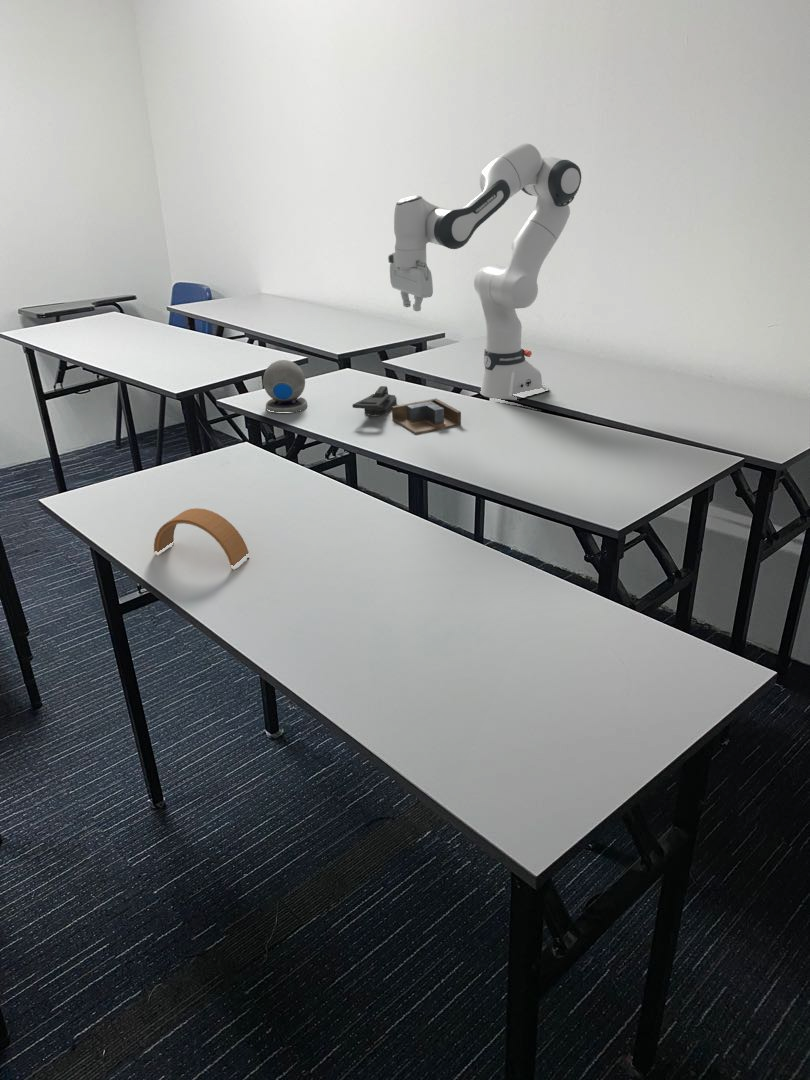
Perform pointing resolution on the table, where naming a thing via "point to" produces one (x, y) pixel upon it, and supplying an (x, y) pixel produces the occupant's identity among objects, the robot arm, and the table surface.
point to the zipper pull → (377, 402)
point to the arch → (210, 524)
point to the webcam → (284, 387)
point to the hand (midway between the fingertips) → (411, 308)
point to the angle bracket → (425, 413)
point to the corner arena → (450, 420)
